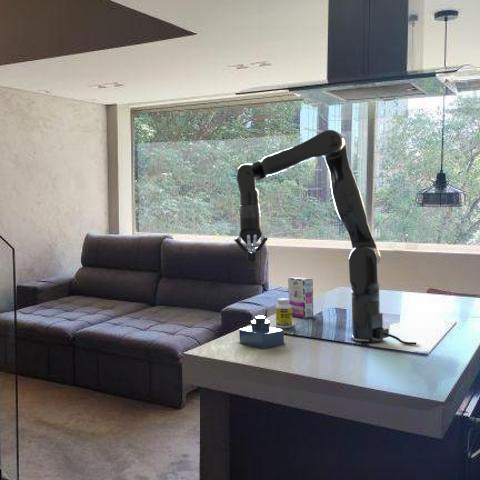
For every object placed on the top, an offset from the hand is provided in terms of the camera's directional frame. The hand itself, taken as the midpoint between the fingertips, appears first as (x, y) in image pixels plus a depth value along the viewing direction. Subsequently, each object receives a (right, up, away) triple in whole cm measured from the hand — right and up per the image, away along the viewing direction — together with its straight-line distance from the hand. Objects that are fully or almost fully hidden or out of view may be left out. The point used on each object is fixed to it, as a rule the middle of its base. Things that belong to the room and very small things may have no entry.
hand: (251, 262), depth 225 cm
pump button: (+1, -21, -13) cm, 25 cm away
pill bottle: (+14, -26, +9) cm, 31 cm away
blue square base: (+1, -28, -16) cm, 32 cm away
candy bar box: (+26, -24, +28) cm, 45 cm away
